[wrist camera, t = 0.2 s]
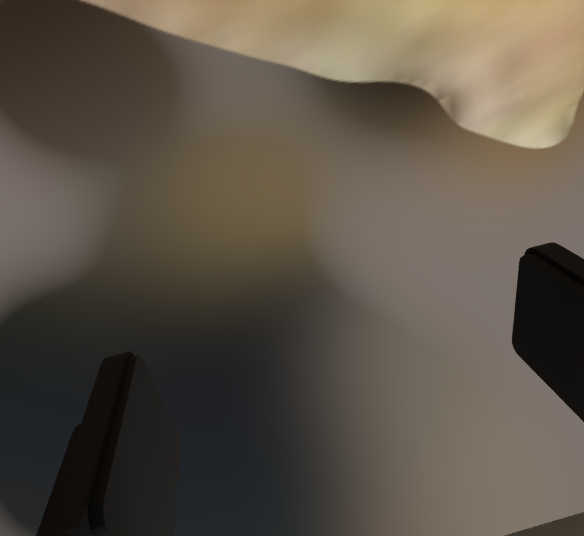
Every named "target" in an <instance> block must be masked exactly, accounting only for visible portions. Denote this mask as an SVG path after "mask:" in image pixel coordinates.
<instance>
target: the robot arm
mask: <svg viewBox="0 0 584 536" xmlns="http://www.w3.org/2000/svg"><path fill="white" fill-rule="evenodd" d="M512 344H513V347H514V349H515V351H516V353H517V354H518V355H519V356H520V357H521V358H522V359H523V360H524V361H525V362H526V363H527V365H529V367H530V368H531V369H532V370H533V371H534V372H536V374H537V375H538V376H539V377H540V378H541V379H542V380H543V381H544V382H545V383H546V384H547V385H548V386H549V387H550V388H551V389H552V390H553V391H554V392H555V393H556V394H557V395H558V396H559V397H560V398H561V399H562V400H563V401H564V402H565V403H566V404H567V405H568V406H569V407H570V408H571V409H572V410H573V411H574V412H575V413H576V414H577V415H578V416H579V418H581V420H583V422H584V259H583V258H581V257H579V256H578V255H576V254H574V253H572V252H571V251H569V250H567V249H565V248H564V247H562V246H560V245H559V244H557V243H547V244H543V245H539V246H535V247H532V248H529V249H527V250H526V252H525V255H524V256H522V257H521V258H520V261H519V271H518V282H517V292H516V303H515V313H514V323H513V334H512ZM180 450H181V441H180V436H179V432H178V430H177V428H176V425H175V423H174V421H173V419H172V417H171V415H170V413H169V411H168V409H167V407H166V405H165V403H164V401H163V398H162V396H161V394H160V392H159V390H158V388H157V386H156V384H155V382H154V380H153V378H152V376H151V374H150V372H149V370H148V368H147V365H146V363H145V361H144V359H143V358H142V357H141V356H140V355H138V356H134V355H133V353H131V352H129V351H128V352H124V353H121V354H117V355H113V356H109V357H105V358H104V359H103V361H102V363H101V366H100V369H99V372H98V375H97V378H96V381H95V384H94V387H93V390H92V393H91V395H90V398H89V402H88V404H87V407H86V411H85V413H84V417H83V419H82V422H81V424H79V425H78V426H77V427H76V428H75V429H74V431H73V433H72V436H71V438H70V441H69V444H68V447H67V450H66V453H65V455H64V459H63V461H62V464H61V467H60V470H59V473H58V475H57V478H56V481H55V484H54V487H53V490H52V493H51V495H50V498H49V501H48V504H47V507H46V509H45V512H44V515H43V518H42V521H41V524H40V527H39V529H38V532H37V535H36V536H174V532H175V518H176V505H177V491H178V477H179V463H180ZM504 536H584V512H582V513H579V514H575V515H572V516H569V517H565V518H562V519H559V520H555V521H552V522H548V523H545V524H541V525H538V526H535V527H532V528H528V529H525V530H522V531H518V532H515V533H511V534H508V535H504Z"/></svg>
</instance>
